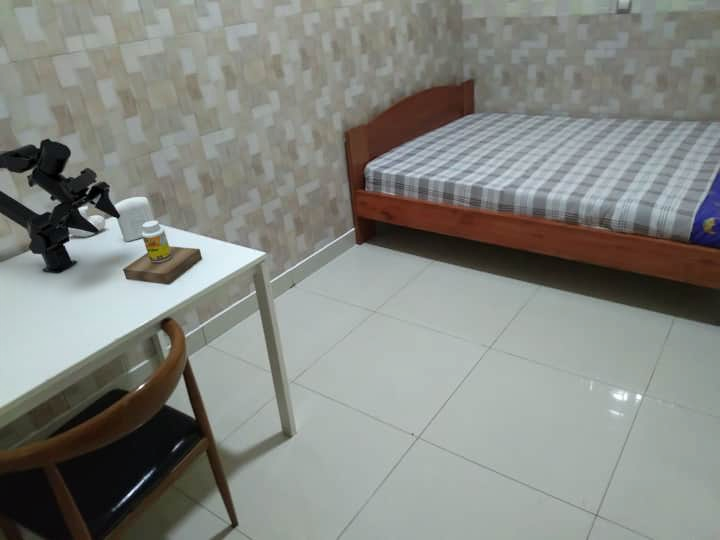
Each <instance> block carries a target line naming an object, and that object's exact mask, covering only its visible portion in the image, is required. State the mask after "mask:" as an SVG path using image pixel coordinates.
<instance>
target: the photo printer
mask: <svg viewBox="0 0 720 540" xmlns="http://www.w3.org/2000/svg"><path fill="white" fill-rule="evenodd" d="M113 205H114V207H115V208H116V210H117V211H118V213H119V214H120V218H119V219H117V218H116V220H117V223H118V227H119V229H120V231H121V235H122V237H123V241H124V242H131V241H135V240H138V239H143V237H142V232H143V231H144V230H143V227H142V225H143V224H144V223H146V222H149V221H156V219H155V216H154V214H153V210H152V206H151V204H150V202H149V200H148V199H147V197H145V196H135V197H134V196H133V197H130V198H126V199H124V200H120V201H119V202H117V203H116V204H113Z"/></svg>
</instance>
